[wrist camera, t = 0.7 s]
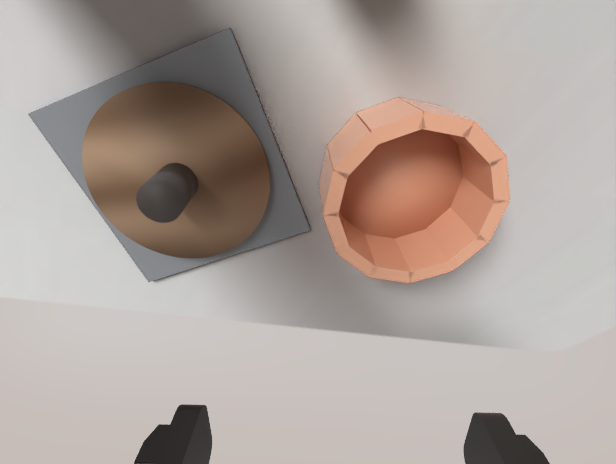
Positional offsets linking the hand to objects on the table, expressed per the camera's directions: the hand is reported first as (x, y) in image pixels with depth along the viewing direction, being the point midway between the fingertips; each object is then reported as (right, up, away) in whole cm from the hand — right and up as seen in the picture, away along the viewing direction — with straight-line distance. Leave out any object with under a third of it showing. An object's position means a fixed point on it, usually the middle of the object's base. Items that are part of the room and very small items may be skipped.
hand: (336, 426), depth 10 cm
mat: (-11, +11, +17) cm, 23 cm away
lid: (-11, +10, +17) cm, 23 cm away
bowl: (+6, +10, +18) cm, 21 cm away
